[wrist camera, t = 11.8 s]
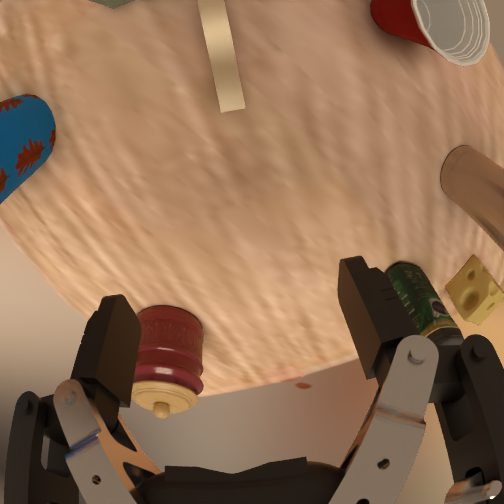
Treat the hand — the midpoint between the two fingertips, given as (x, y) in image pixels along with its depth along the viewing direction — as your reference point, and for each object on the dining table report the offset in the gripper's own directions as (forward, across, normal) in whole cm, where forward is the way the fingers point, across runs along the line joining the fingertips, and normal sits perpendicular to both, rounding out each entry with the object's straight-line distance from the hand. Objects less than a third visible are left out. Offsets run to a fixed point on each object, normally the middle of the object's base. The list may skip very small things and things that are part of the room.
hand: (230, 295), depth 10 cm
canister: (+25, +17, +32) cm, 44 cm away
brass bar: (+25, -1, -13) cm, 28 cm away
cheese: (+26, -47, +36) cm, 64 cm away
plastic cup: (+25, -21, -13) cm, 35 cm away
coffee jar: (+26, -26, +30) cm, 47 cm away
